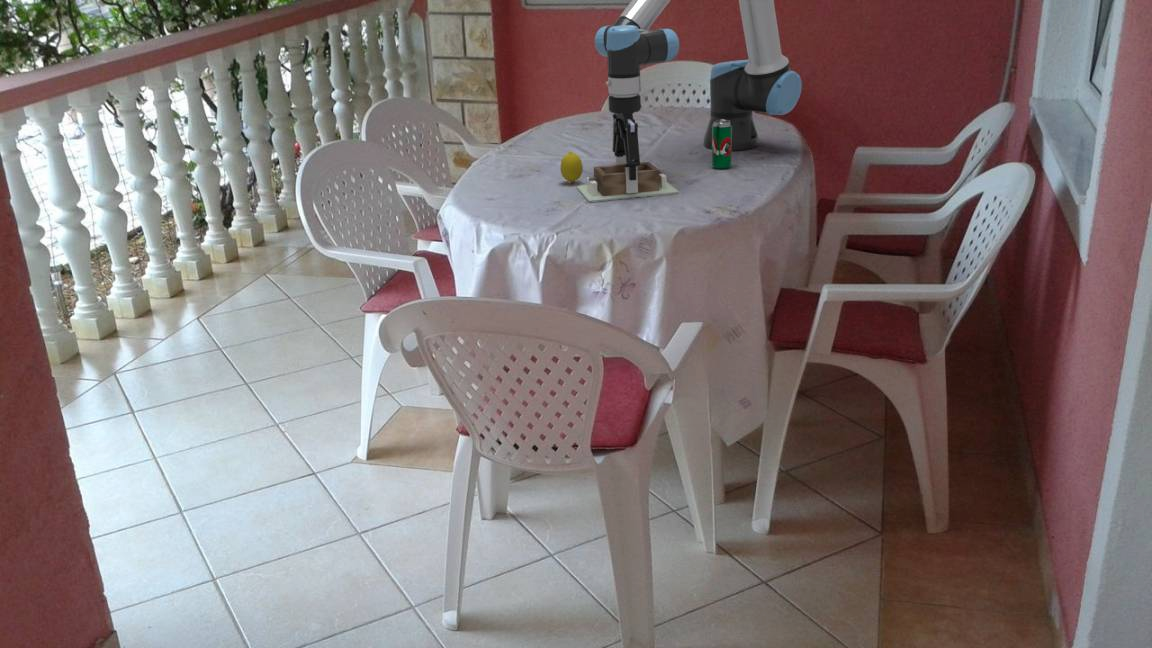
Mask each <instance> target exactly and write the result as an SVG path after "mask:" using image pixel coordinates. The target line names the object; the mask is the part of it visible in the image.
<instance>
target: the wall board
mask: <svg viewBox="0 0 1152 648" xmlns="http://www.w3.org/2000/svg"><path fill="white" fill-rule="evenodd" d="M658 170H659V191H651V192H640V193H630V194H620V195H610V196H602V195H601V193H600V192H599V191H598V190H597V182H596V181H595V177H594V175H591V176H588V177H586V184H585V185H584V184H583V185H576V186H575V187H576V189H577V190H578V191H580V192H581V193H582V194H583V195H582V194H581V195H582V196H583V197H584V199H585V198H586V199H587V200H588V201H589V202H593V203H595V202H594V201H602V202H608V201H607V200H612V201H617V200H616V199H622V200H626V199H625V198H632V199H636V198H635V197H641V198H648V197H647V196H651V197H659V196H660V195H661V196H669V194H670V195H677V194H679V192H680V191H679V190H677V189H676V188H675V187H674V186H672V185H671V183H669V182H668V181H667V180H668V179H667V175H666V174H665V173H664V169H658ZM580 192H579V193H580ZM586 199H585V200H586ZM587 200H586V201H587ZM588 201H587V202H588ZM589 202H588V203H589Z"/></svg>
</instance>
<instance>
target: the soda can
mask: <svg viewBox="0 0 1152 648" xmlns="http://www.w3.org/2000/svg"><path fill="white" fill-rule="evenodd" d="M732 153H733V150H732V124H731V121H729V120H716V121H714V124H713V125H712V149H711V167H713V169H716V170H728V169H730V168H731V167H732V161H733V160H732V156H733V154H732Z"/></svg>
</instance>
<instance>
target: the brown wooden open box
mask: <svg viewBox="0 0 1152 648" xmlns="http://www.w3.org/2000/svg"><path fill="white" fill-rule="evenodd" d="M624 165H625V164H620V165H616V164H611V165H600V166H593V176H594V177H595V181H596V182H597V190H598V191H599V192H600V193H601V195H602V196H610V195H620V194H627V193H626V168H625V167H624ZM659 170H660V169H658V168H657V167H656V166H655V165H653V164H652V163H651V162H649V161H643V162H641V161H640V165H638V166H637V175H638V193H640V192H651V191H659ZM629 194H630V193H629Z"/></svg>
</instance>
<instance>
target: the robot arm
mask: <svg viewBox="0 0 1152 648" xmlns="http://www.w3.org/2000/svg"><path fill="white" fill-rule="evenodd" d="M670 2H671V0H631V1H630V2H629V4H628V5H627V6H626V8H624V10H623V11H622V13H621V14H620V16H619V17H618V18H617V20H616V21H615V22H613V24H612V25H609V24H608V25H605V26H603V27H600V28H599V29H598V30H597V32H596V35H595V37H594V46H595V49H596V51H597V53H598V54H599V55H600V56H602V57H606V62H607V63H606V64H607V79H608V80H607V81H606V82H605V85H606V86H608V87H607V88H608V94H609V96H608V111H609V113H612V121H613V122H612V123H613V124H612V125H613V126H612V127H613V128H612V152H613V153H614V156H615V158H614V159H615V164H614V165H620V164H625V165H624V167H625V168H626V193H627V194H629V193H638V175H637V166H638V165H640V163H641V160H640V147H639V146H640V145H639V132H638V126H639V124H638V122H636V120H635V119H634V113H638V112H640V111H641V109H642V108H641V101H642V100H641V95H640V94H639V93H640V92H641V66H646V65H653V64H659V63H665V62H668V61H671V60H674V59H675V58H677V55H678V54H679V50H680V39H679V37H678V35H677V33H676V32H675V31H674V30H672V29H671V28H658V29H650V27H651V26H652V25H653V24H654V22H655V21H656V20H657V19H658V17H659V16H660V15H661V13H662V12H663V11H664V9H665V8H666V7H667V5H668V4H669V3H670ZM738 4H739V5H738V6H739V11H740V16H741V22H742V27H743V28H742V29H743V34H744V40H745V46H746V51H747V57H748V59H741V60H740V59H739V60H731V61H724V62H718V63H716V64H714V65H713V66H712V67H711V69H710V79H709V89H710V91H709V94H710V95H709V96H710V97H709V98H710V101H709V102H710V104H709V105H710V115H709V116H710V118H709V122H708V124H707V127H706V130H705V134H704V136H703V146H704V147H706V148H707V149H711V150H712V125H713V124H714V121H716V120H729V121H731V124H732V151H743V150H749V149H754V148H756V147H758V146H759V135H758V131H757V127H756V124H755V121H754V118H753V112H755V113H760V114H768V115H770V116H774V115H776V116H783V115H787V114H789V113H790V112H791V111H792V110H793V109H794V108H795V106H796V105H797V103H798V100H799V99H800V96H801V94H802V85H803V84H802V83H803V82H802V78H801V76H800V75H799V74H798V73H797V72H796V71H794V70H791V68H790V61H789V58H788V57H787V56H785V55H783V54H782V53H783V52H782V48H781V47H782V46H781V42H780V34H779V28H778V27H779V26H778V22H777V13H776V8H775V1H774V0H738Z"/></svg>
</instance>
